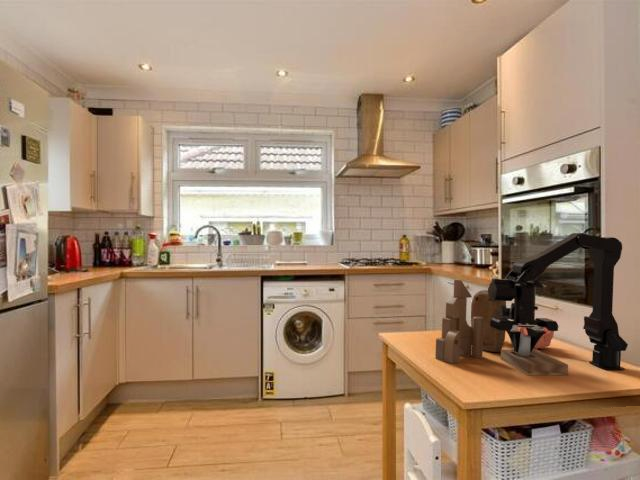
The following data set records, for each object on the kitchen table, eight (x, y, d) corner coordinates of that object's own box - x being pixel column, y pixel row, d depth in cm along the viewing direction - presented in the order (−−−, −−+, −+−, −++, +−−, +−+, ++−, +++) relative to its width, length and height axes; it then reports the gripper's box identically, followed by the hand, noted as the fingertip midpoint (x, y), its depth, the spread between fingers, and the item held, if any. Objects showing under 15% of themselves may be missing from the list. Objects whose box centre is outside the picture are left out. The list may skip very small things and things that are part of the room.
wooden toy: (452, 364, 116) (455, 282, 116) (435, 358, 122) (437, 279, 121) (484, 357, 124) (487, 280, 124) (466, 351, 130) (469, 277, 130)
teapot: (511, 349, 134) (512, 320, 134) (506, 340, 146) (507, 313, 145) (558, 354, 130) (559, 324, 130) (549, 345, 141) (550, 317, 141)
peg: (524, 359, 121) (525, 334, 121) (532, 364, 117) (534, 337, 116) (511, 359, 120) (513, 333, 120) (519, 363, 116) (521, 337, 116)
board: (536, 359, 124) (536, 349, 124) (567, 375, 110) (568, 364, 110) (500, 358, 123) (501, 349, 123) (527, 375, 109) (528, 364, 109)
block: (507, 351, 132) (509, 292, 132) (495, 354, 128) (497, 294, 127) (477, 343, 141) (480, 288, 140) (465, 346, 136) (467, 289, 136)
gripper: (536, 297, 127) (534, 344, 127) (482, 296, 125) (480, 344, 126) (560, 303, 116) (558, 355, 116) (500, 302, 114) (499, 355, 115)
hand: (522, 352), depth 118 cm, fingers closed on peg, 4 cm apart
